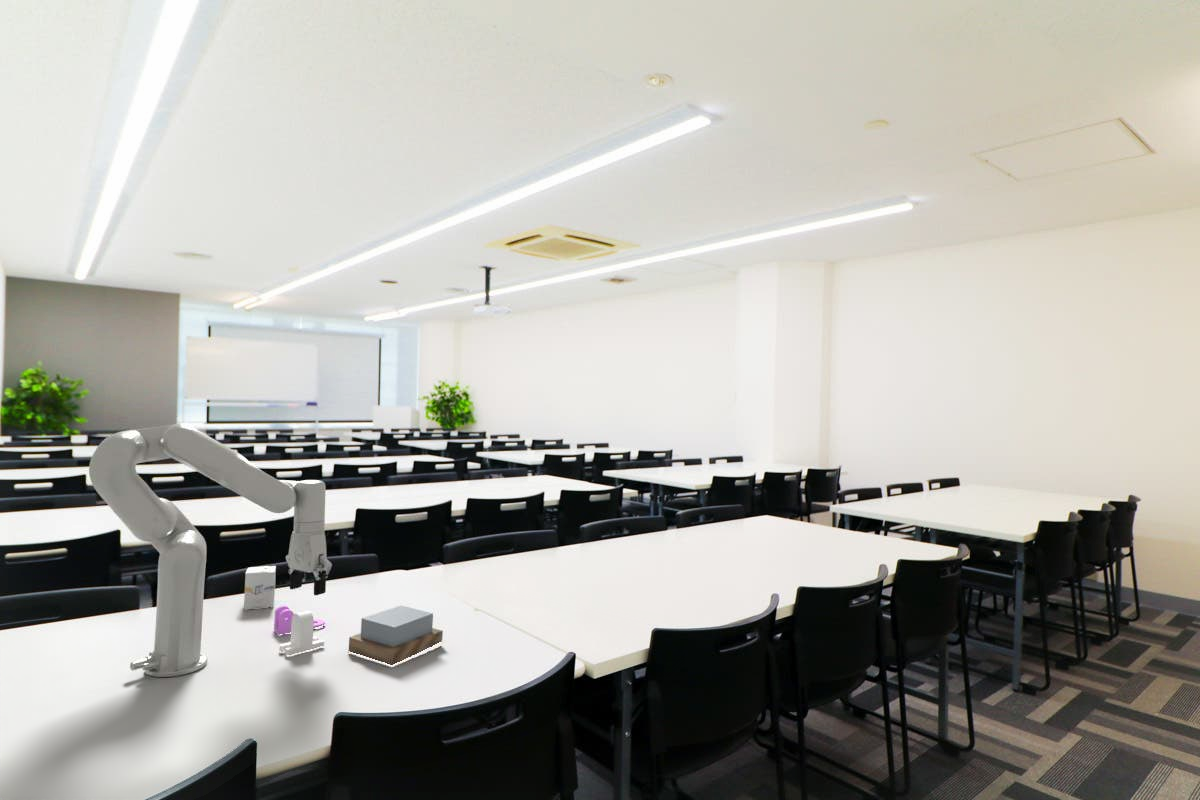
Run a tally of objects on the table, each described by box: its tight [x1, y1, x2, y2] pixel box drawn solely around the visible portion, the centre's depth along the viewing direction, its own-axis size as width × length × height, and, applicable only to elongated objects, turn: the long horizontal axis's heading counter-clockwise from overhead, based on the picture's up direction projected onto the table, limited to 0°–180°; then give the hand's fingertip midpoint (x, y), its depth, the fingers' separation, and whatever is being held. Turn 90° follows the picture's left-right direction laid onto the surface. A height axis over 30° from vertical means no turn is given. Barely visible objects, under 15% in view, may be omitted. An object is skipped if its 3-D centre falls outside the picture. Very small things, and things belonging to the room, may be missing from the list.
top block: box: [360, 605, 434, 647], centre depth 172 cm, size 14×12×5 cm
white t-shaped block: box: [278, 610, 325, 655], centre depth 169 cm, size 5×10×10 cm, turn 141°
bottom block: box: [348, 627, 444, 665], centre depth 172 cm, size 18×16×5 cm
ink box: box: [243, 565, 277, 611], centre depth 204 cm, size 9×8×12 cm
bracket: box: [273, 605, 326, 635], centre depth 185 cm, size 13×6×7 cm, turn 130°
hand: (307, 591), depth 170 cm, fingers open, 9 cm apart
